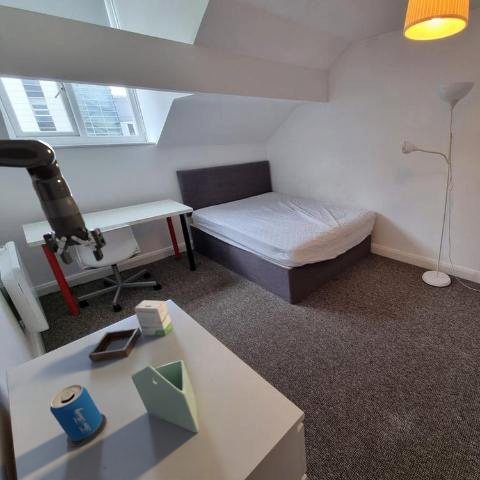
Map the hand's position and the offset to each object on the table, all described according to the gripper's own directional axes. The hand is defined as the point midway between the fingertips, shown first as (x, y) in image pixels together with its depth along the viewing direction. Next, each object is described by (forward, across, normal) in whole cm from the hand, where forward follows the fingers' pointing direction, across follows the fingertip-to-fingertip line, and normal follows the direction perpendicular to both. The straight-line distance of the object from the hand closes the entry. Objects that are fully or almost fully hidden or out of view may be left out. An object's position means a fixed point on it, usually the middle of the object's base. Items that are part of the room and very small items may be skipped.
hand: (85, 261), depth 84 cm
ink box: (+30, +14, -1) cm, 33 cm away
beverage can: (+30, +9, -35) cm, 47 cm away
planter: (+30, +31, -34) cm, 55 cm away
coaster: (+30, +9, -35) cm, 47 cm away
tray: (+30, +3, -6) cm, 31 cm away
